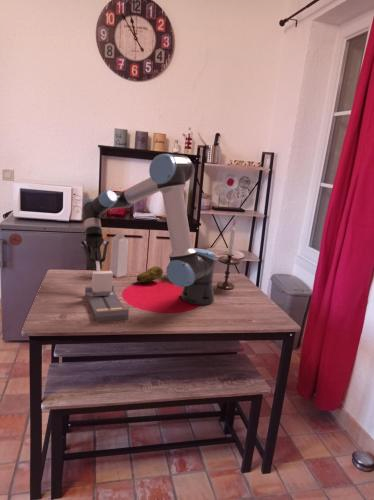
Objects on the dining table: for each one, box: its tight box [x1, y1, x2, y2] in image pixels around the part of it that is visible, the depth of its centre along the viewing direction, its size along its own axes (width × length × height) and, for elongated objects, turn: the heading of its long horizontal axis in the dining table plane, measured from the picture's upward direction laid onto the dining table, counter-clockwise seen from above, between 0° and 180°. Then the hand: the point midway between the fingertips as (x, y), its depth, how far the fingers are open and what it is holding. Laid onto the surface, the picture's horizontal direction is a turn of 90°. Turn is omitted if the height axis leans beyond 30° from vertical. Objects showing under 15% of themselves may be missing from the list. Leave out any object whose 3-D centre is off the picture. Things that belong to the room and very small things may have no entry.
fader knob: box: [91, 270, 114, 296], centre depth 156 cm, size 5×8×10 cm, turn 114°
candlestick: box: [216, 219, 241, 291], centre depth 185 cm, size 11×11×35 cm
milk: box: [109, 231, 129, 278], centre depth 187 cm, size 6×6×22 cm
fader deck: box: [84, 284, 130, 323], centre depth 151 cm, size 26×12×4 cm, turn 24°
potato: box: [136, 265, 164, 284], centre depth 183 cm, size 8×13×8 cm, turn 99°
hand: (98, 275), depth 162 cm, fingers closed
